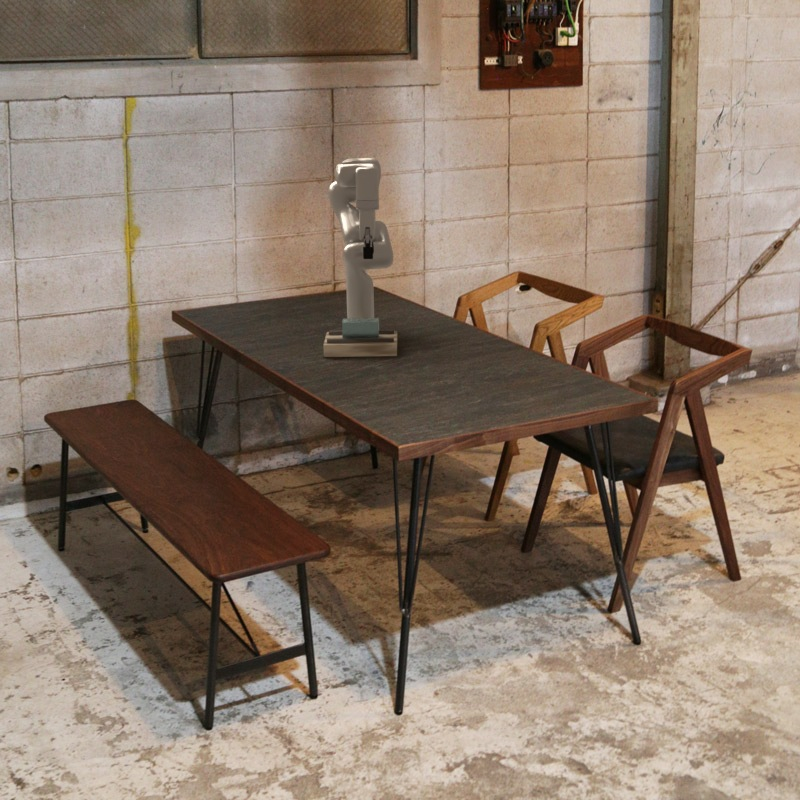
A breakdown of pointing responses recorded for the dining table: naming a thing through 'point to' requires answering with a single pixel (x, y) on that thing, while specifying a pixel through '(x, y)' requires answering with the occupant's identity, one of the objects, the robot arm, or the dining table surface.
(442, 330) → the dining table surface
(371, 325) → the housing
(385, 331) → the stand
